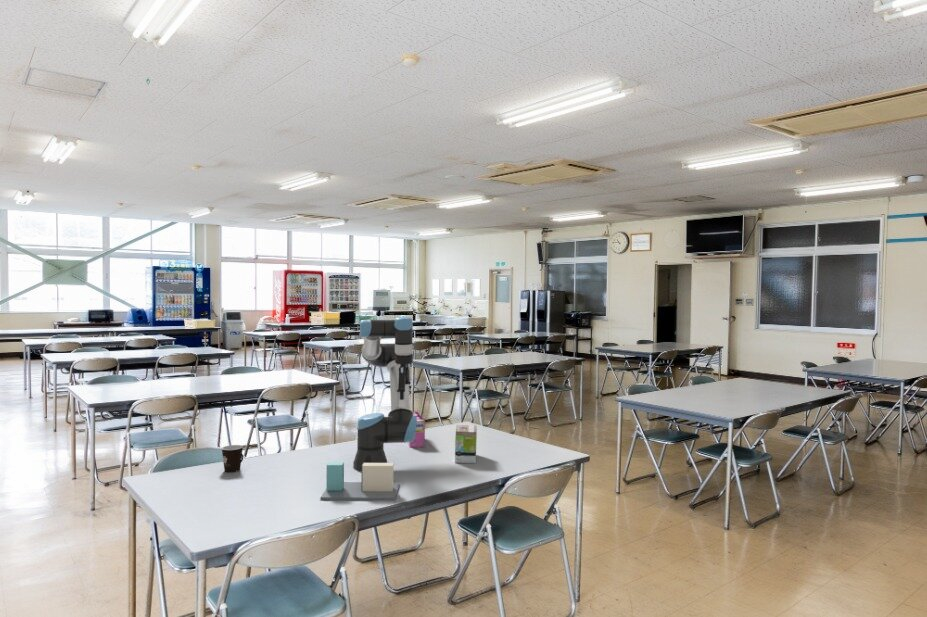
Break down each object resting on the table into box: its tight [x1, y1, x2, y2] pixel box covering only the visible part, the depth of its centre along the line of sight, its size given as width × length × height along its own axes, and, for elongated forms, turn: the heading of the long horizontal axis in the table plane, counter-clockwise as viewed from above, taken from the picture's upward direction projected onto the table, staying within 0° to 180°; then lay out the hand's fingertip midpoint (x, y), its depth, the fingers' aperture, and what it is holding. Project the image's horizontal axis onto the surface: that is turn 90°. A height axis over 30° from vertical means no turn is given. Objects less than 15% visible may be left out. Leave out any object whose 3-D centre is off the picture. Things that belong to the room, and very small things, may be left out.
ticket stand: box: [320, 462, 400, 501], centre depth 232 cm, size 28×18×11 cm, turn 91°
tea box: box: [454, 424, 478, 464], centre depth 280 cm, size 15×10×15 cm, turn 179°
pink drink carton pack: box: [406, 411, 426, 448], centre depth 312 cm, size 24×8×14 cm, turn 14°
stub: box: [326, 461, 345, 491], centre depth 232 cm, size 6×4×10 cm, turn 91°
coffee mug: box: [221, 444, 244, 473], centre depth 257 cm, size 12×9×10 cm
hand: (403, 403), depth 253 cm, fingers open, 13 cm apart
